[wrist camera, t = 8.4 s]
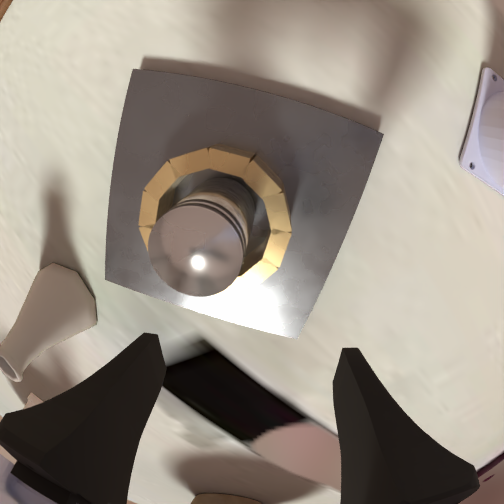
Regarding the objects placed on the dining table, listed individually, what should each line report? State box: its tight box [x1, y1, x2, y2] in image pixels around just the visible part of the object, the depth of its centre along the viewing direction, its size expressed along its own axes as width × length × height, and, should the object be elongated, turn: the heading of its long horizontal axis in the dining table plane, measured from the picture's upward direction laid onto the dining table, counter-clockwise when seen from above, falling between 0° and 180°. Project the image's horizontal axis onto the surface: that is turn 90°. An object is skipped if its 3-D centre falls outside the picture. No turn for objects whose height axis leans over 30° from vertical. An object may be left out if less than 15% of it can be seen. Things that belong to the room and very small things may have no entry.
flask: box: [0, 263, 97, 382], centre depth 19 cm, size 7×7×10 cm
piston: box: [148, 178, 255, 297], centre depth 15 cm, size 4×4×6 cm
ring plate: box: [105, 69, 384, 339], centre depth 17 cm, size 15×15×4 cm
